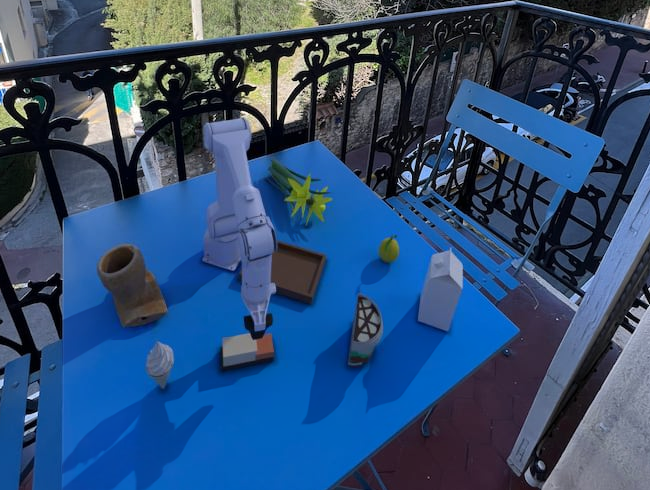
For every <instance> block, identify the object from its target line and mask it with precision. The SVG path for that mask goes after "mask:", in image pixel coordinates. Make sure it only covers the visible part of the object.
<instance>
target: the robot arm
mask: <svg viewBox="0 0 650 490" xmlns="http://www.w3.org/2000/svg"><path fill="white" fill-rule="evenodd" d="M202 130H203V141H204V142H203V144H204V148H205V149H206V150H207V151H208V152H212V155H213V156H214V168H215V187H216V200H215V201H213V202H212V203H211V204H210V205H208V206H207V207H206V208H207V209H206V216H205V222H206V230H205V232H204V236H203V240H202V244H203V245H202V247H203V258H202V262H204V263H207V264H210V265H212V266H215V267H218V268H222V269H225V270H228V271H231V272H235V271H236V269H237V268H238V266H239V264H240V262H241V269H242V275H241V277H240V281H239V282H240V286H241V289H240V298H241V300H242V301H243V304H244V305H245V307H246V309H247V311H248V313H249V315H243V326H244V329H245V331H248V332H249V333H250V334H251V337H252V339H253V340H256V339H261V338H263V336H264V335H265V334H266V331H267V330H268V329H269V328H270V327H272V326H273V324H274V317H273V312H269V313H267V312H268V308H269V303H270V301H271V300H270V299H271V296H272V295H274V294H277V293H276V286H275V284H274V283H271V261H272V253H273V251H274V252H276V251H277V240H278V238H277V234H276V230H275V227H274V225H273V223H272V221H271V219H270V217H269V216H267V214H266V210H265V206H264V203H263V199H262V195H261V192H260V189H259V188H256V187H255V186H253V184H252V177H251V173H250V166H249V162H248V156H247V151H248V150H249V149H250V145H251V141H252V128H251V124H250V121H249V120H248V119H247V118H246V117H241V118H233V119H229V120H228V119H227V120H221V121H214V122H206V123H205V124H204V126H203V129H202Z"/></svg>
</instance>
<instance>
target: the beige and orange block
mask: <svg viewBox="0 0 650 490" xmlns="http://www.w3.org/2000/svg"><path fill="white" fill-rule="evenodd" d="M219 349H220V352H219V353H220V372H227V371H231V370H235V369H241V368H246V367H250V366H255V365H260V364H265V363H270V362H274V359H275V358H274V356H275V354H274V353H275V350H274V343H273V336H272V333H265V334H264V336H263V338H261V339H256V340H253V339H252V337H251V334H250V332H249V333H243V334H237V335H232V336H227V337H222V346H220V347H219Z"/></svg>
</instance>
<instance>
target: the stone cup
mask: <svg viewBox="0 0 650 490" xmlns="http://www.w3.org/2000/svg"><path fill="white" fill-rule="evenodd" d="M96 272H97V275H98V278H99V280H100V283H101V284H102V286H103V287H104V288H105V289H106V290H107V291H108V292H109V293H110V294H111V295H112V299H113V304H114V308H115V310H116V312H117V316H118V318H119V321H120V324H121V326H122V328H134V327H140V326H144V325H146V324H149V323H152V322H155V321H157V320H160V319H162V318H163V317H164V316H166V315H167V314H168V307H167V305H166V300H165V298H164V296H163V294H162V291H161V288H160V286H159V284H158V281H157V279H156V278H155V277H156V276H155V275H154V274H153V273H152V271H151V270H149V269H147V267H146V262H145V259H144V256H143V253H142V252H141V250H140V248H138V247H137V246H136V245H134V244H131V243H122V244H121V243H120V244H117V245H116V246H113V247H111V248H110V249H108V250H107V251H105V252H104V254H102V256H101V257H100V259H99V261H98V262H97V265H96Z"/></svg>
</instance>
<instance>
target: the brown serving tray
mask: <svg viewBox="0 0 650 490" xmlns="http://www.w3.org/2000/svg"><path fill="white" fill-rule="evenodd" d="M326 261H327V254H326V253H322V252H318V251H316V250H311V249H308V248H304V247H301V246H298V245H295V244H291V243H289V242H288V243H287V242H285V241H281V240H278V239H277V251H276V252H274V251H273V253H272V261H271V283H274V284H275V286H276V293H275V294H279V295H281V296H285V297H288V298H290V299H291V298H292V299H294V300H297V301H300V302H304V303H306V304H309V305H312V304H313V301H314V298H315V295H316V292H317V289H318V285H319V282H320V279H321V277H322V273H323V270H324V267H325V265H326ZM241 275H242V268H241V269H240V271H239V273H238V281H239V282H240V277H241Z"/></svg>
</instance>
